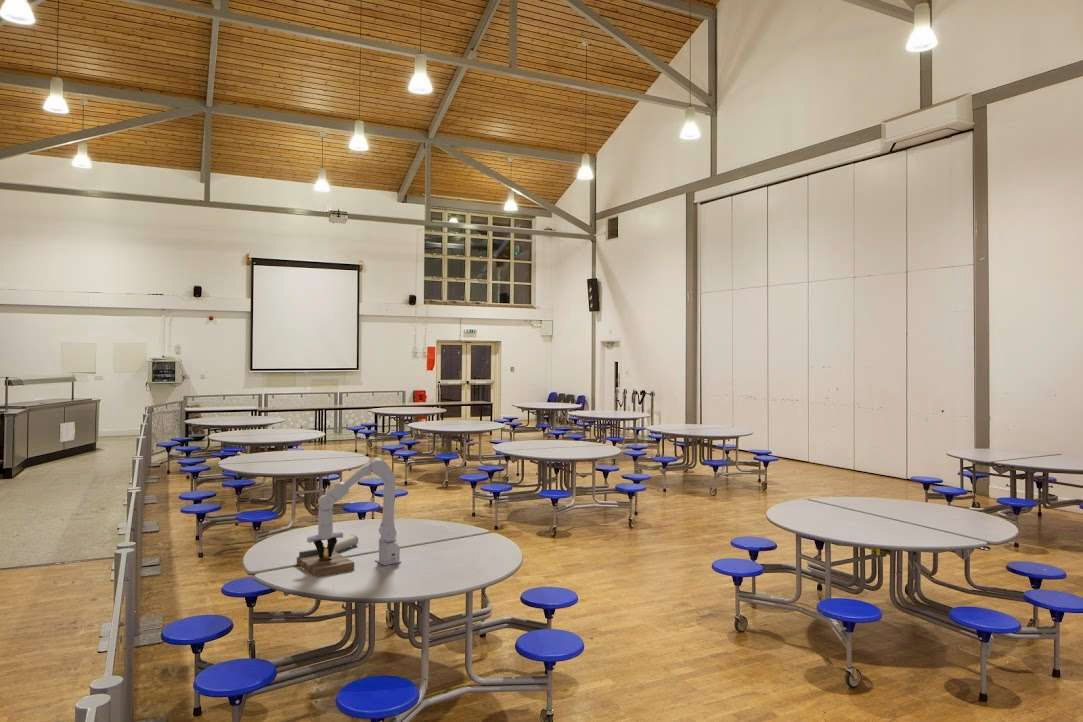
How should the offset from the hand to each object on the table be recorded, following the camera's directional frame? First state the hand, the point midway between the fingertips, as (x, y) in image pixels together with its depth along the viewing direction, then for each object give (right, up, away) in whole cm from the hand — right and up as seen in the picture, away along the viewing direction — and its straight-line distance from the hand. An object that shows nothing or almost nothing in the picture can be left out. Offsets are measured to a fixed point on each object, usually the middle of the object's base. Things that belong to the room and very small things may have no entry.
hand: (325, 557), depth 276 cm
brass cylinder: (0, -2, 0) cm, 2 cm away
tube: (-2, -5, +23) cm, 24 cm away
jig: (0, -4, 0) cm, 4 cm away
